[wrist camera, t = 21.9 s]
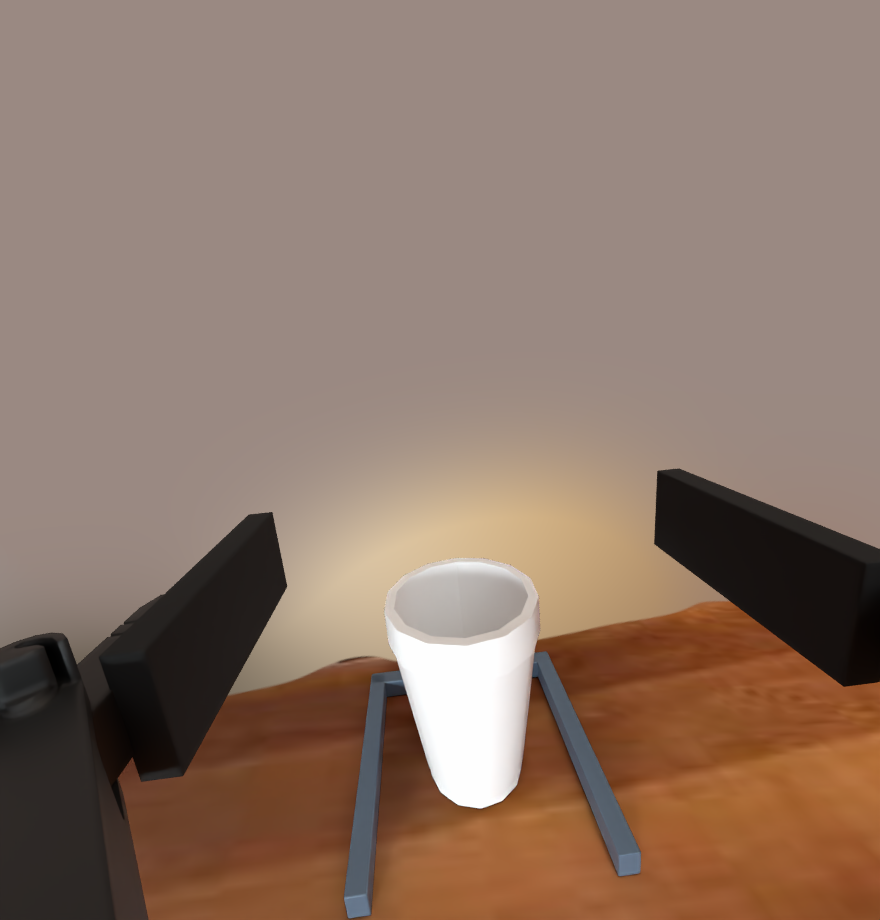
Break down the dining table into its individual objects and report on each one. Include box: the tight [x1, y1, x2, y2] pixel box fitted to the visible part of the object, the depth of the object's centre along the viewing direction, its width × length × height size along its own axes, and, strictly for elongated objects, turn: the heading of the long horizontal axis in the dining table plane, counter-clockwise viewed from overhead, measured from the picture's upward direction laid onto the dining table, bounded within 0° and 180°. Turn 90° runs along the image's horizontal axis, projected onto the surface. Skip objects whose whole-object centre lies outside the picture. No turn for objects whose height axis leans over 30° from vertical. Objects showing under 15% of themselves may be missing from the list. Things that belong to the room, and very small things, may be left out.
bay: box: [344, 652, 641, 918], centre depth 28 cm, size 15×15×2 cm
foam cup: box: [384, 558, 540, 808], centre depth 27 cm, size 10×9×13 cm
